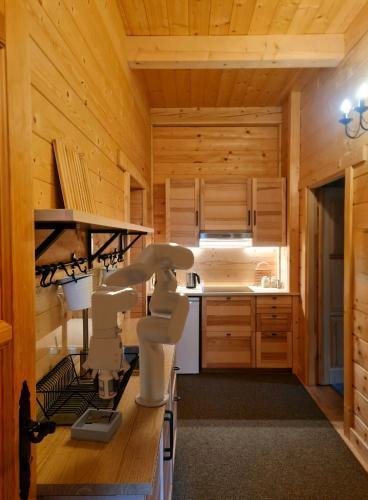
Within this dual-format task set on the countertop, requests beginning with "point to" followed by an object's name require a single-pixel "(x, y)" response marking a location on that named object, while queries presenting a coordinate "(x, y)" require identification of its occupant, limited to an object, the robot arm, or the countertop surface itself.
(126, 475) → the countertop surface
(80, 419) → the bin
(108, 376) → the pill bottle
